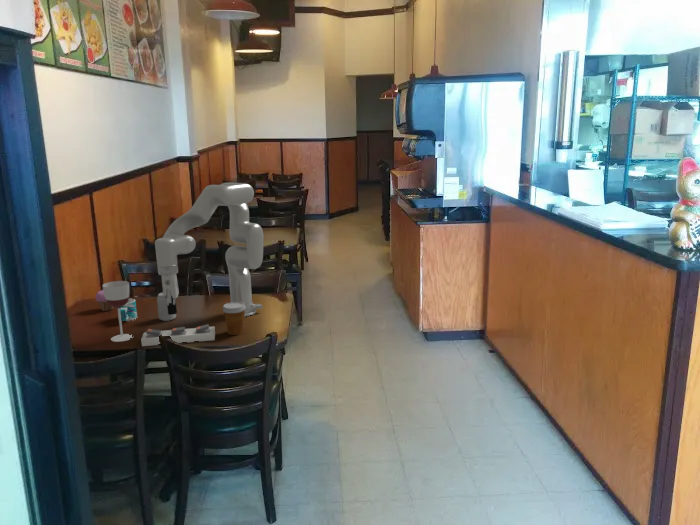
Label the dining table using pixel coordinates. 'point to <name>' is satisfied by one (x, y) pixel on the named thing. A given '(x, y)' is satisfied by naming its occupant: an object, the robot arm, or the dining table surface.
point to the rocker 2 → (202, 328)
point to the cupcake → (103, 301)
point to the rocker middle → (178, 330)
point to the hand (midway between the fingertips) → (172, 313)
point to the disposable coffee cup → (234, 317)
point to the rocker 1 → (153, 332)
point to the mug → (128, 311)
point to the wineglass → (117, 302)
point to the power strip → (180, 336)
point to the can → (163, 309)
